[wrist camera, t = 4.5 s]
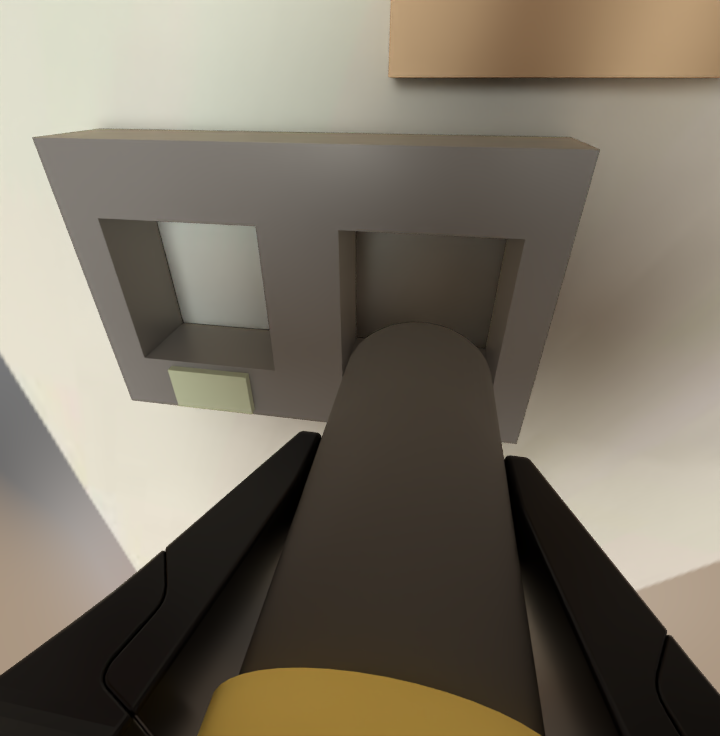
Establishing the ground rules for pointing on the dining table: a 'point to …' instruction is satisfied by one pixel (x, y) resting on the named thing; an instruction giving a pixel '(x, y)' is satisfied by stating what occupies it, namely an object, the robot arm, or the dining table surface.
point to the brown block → (554, 39)
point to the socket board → (308, 248)
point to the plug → (396, 565)
